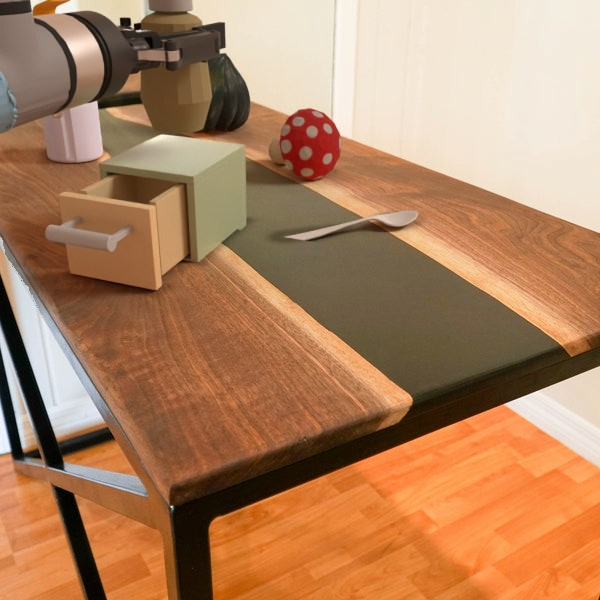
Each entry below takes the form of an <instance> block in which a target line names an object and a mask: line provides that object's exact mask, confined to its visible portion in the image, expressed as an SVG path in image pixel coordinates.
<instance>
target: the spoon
mask: <svg viewBox="0 0 600 600" xmlns="http://www.w3.org/2000/svg"><path fill="white" fill-rule="evenodd" d="M418 216H419V213H418V211H417V210H412V209H410V210H409V209H405V210H400V211H395V212H389V213H386V214H385V213H384V214H378V215H369V216H366V217H363V218H359V219H357V220H352V221H348V222H343V223H340V224H337V225H336V224H335V225H332V226H327V227H323V228H318V229H315V230H311V231H306V232H301V233H296V234H292V235H287V236H286V235H285V238H289V239H294V240H299V241H305V242H306V241H310V240H314V239H317V238H320V237H324V236H326V235H330V234H333V233H335V232H337V231H340V230H342V229H346V228H348V227H351V226H355V225H360V224H362V223H365V222H369V221H377V222H379V223H382V224H383V225H386V226H390V227H403V226H407V225H408V224H410V223H412V222H414V221H415V220H416V219H417V218H418Z"/></svg>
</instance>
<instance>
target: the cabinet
mask: <svg viewBox="0 0 600 600" xmlns="http://www.w3.org/2000/svg"><path fill="white" fill-rule="evenodd" d="M246 158H247V157H246V144H245V143H244V144H242V143H236V142H228V141H219V140H212V139H204V138H196V137H187V136H180V135H179V136H178V135H173V134H165V133H161V134H158V135H156V136H155V137H152V138H150V139H147V140H145V141H144V142H141V143H139V144H136V145H135V146H133V147H130V148H128V149H126V150H124V151H122V152H120V153H118V154H115V155H114V156H111V157H109V158H107V159H105V160H102V161H100V162H98V169H99V180H102V179H104V178H106V177H108V176H110V175H112V174H114V173H119V174H125V175H132V176H139V177H146V178H153V179H160V180H166V181H173V182H180V183H187V199H188V216H189V232H190V249H191V252H190V253H189V254H188V255H187V256H186V257H184V258H183V259H182V260H183V261H187V262H193V263H199V262H201V261H202V260H203V259H204V258H205V257H206V256H208V255H209V254H210V253H211V252H212V251H213V250H215V249H216V248H217V247H218V246H219V245H221V243H223V242H224V241H225V240H226V239H227V238H228V237H230V236H231V235H232V234H233V233H234V232H235V231H237V230H239V231H242V230H243V229H244V228H245V227H247V169H246V167H247V166H246V165H247V164H246V163H247V161H246V160H247V159H246ZM182 260H181V261H182Z"/></svg>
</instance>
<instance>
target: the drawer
mask: <svg viewBox="0 0 600 600" xmlns="http://www.w3.org/2000/svg"><path fill="white" fill-rule="evenodd" d="M57 199H58V205H59V211H60V212H59V213H60V218H61V224H60V225H57V224H49V225H47V226H46V227H45V231H44V237H45V239H46V240H47V241H49V242H54V243H59V244H65V250H66V255H67V256H66V257H67V263H68V269H69V273H70V274H72V275H77V276H82V277H87V278H92V279H97V280H102V281H108V282H113V283H118V284H122V285H127V286H133V287H137V288H141V289H147V290H152V291H158V290H159V289H160V288H162V286H163V282H162V276H164V275H165V274H166V273H167V272H169V271H170V270H172V268H174V267H175V266H176V265H177V264H179V263H180V262H181V261H182V259H183V258H184V257H186V256H187V255H188V254H189V253H190V252H191V249H190V232H189V216H188V199H187V183H180V182H173V181H166V180H160V179H153V178H146V177H139V176H132V175H125V174H119V173H114V174H112V175H110V176H108V177H106V178H104V179H102V180H101V179H99V180H98V181H96V182H94V183H92V184H91V185H89V186H87V187H84V188H82V189H81V190H80V193H78V192H77V193H76V192H71V191H63V192H61V193H59V194H57Z"/></svg>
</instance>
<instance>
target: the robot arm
mask: <svg viewBox="0 0 600 600" xmlns="http://www.w3.org/2000/svg"><path fill="white" fill-rule="evenodd" d="M142 37H144V39H143V38H142ZM226 41H227V40H226V22H224V21H218V22H217V21H216V22H211V23H208V24H202V26H198V27H193V28H192V30H191V31H181V32H171V33H162V34H158V33H157V32H156V31H153V30H141V21H140V22H135V23H133V27H132V18H131V17H129V16H128V17H127V16H125V17H119V25H116V24H115V23H114V22H113V20H111V19H110V18H108V17H107V16H106V15H104V14H102V13H99V12H98V11H93V10H78V11H69V12H62V13H55V14H47V15H39V16H33V7H32V2H31V0H0V135H1V134H4V133H6V132H9V131H10V130H11V129H14V128H17V127H20V126H23V125H26V124H28V123H31V122H35V121H37V120H40V119H42V118H43V117H46V116H49V115H51V116H52V117H53V118H58V119H59V118H61V117H62V116H63V112H62V111H64V110H67V109H70V108H74V107H77V106H80V105H83V104H86V103H91V102H95V101H97V102H99V101H100V100H103V99H108V98H110V97H112V96H115V95H116V94H118V93H119V92H120V91H121V90H122V89H123V88H124V87H125V84H126V83H127V82H128V79H129V77H130V75H137V74H139V73H140V72H141V70H145V69H152V68H157V67H159V66H160V63H161V62H163V67H165V68H166V70H170V71H175V70H178V69H179V68H181V67H182V66H186V65H190V64H194V63H198V62H203V63H204V62H205V63H207V62H208V60H210V59H216V58H218V57H220V53H221V50H223V49H226V48H227V45H226Z"/></svg>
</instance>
